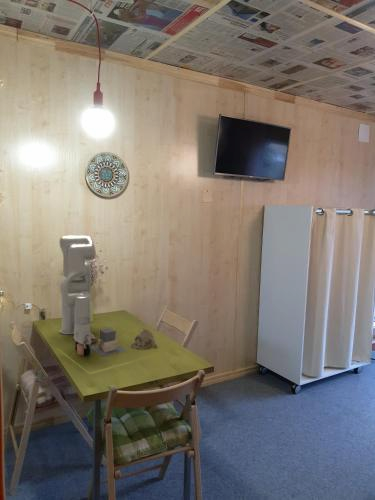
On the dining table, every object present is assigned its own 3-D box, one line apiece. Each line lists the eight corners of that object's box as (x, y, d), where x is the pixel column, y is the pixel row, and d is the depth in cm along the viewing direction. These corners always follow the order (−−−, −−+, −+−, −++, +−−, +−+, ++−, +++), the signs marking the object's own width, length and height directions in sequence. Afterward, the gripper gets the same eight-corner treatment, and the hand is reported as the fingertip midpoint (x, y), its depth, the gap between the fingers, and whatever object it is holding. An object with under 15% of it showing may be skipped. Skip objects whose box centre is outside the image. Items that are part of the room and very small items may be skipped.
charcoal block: (99, 339, 199) (99, 329, 198) (109, 336, 203) (109, 327, 202) (105, 342, 195) (105, 333, 194) (115, 340, 198) (115, 330, 198)
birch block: (98, 348, 200) (98, 339, 199) (110, 345, 204) (110, 336, 204) (104, 352, 194) (104, 342, 194) (116, 349, 199) (116, 340, 198)
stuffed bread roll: (144, 341, 215) (144, 324, 214) (159, 345, 209) (160, 328, 208) (127, 348, 204) (127, 330, 202) (143, 353, 198) (144, 334, 196)
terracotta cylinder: (75, 354, 193) (75, 343, 192) (85, 352, 196) (85, 341, 196) (79, 358, 189) (79, 346, 188) (90, 355, 192) (90, 344, 192)
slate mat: (88, 348, 201) (88, 347, 201) (111, 343, 210) (111, 341, 210) (102, 358, 189) (102, 356, 189) (126, 352, 198) (126, 350, 198)
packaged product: (73, 330, 217) (90, 328, 222) (73, 338, 217) (90, 336, 222) (81, 340, 201) (100, 337, 206) (81, 349, 202) (100, 346, 207)
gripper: (68, 316, 194) (68, 348, 196) (83, 325, 181) (83, 359, 183) (82, 314, 199) (82, 345, 201) (97, 322, 186) (97, 356, 188)
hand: (82, 352), depth 192 cm, fingers open, 9 cm apart
